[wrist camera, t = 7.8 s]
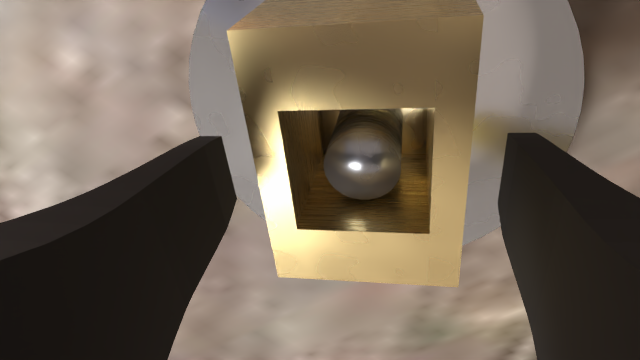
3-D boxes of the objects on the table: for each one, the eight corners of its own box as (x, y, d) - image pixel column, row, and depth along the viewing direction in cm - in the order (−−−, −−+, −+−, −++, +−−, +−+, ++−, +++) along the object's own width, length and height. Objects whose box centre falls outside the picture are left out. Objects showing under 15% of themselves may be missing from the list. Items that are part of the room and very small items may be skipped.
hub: (186, 187, 18) (136, 253, 15) (226, -175, 11) (150, -198, 8) (463, 278, 18) (474, 364, 15) (672, -26, 11) (775, 10, 8)
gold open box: (305, 197, 16) (278, 276, 13) (276, -9, 12) (226, 31, 9) (448, 199, 15) (458, 287, 12) (463, -23, 11) (483, 15, 8)
